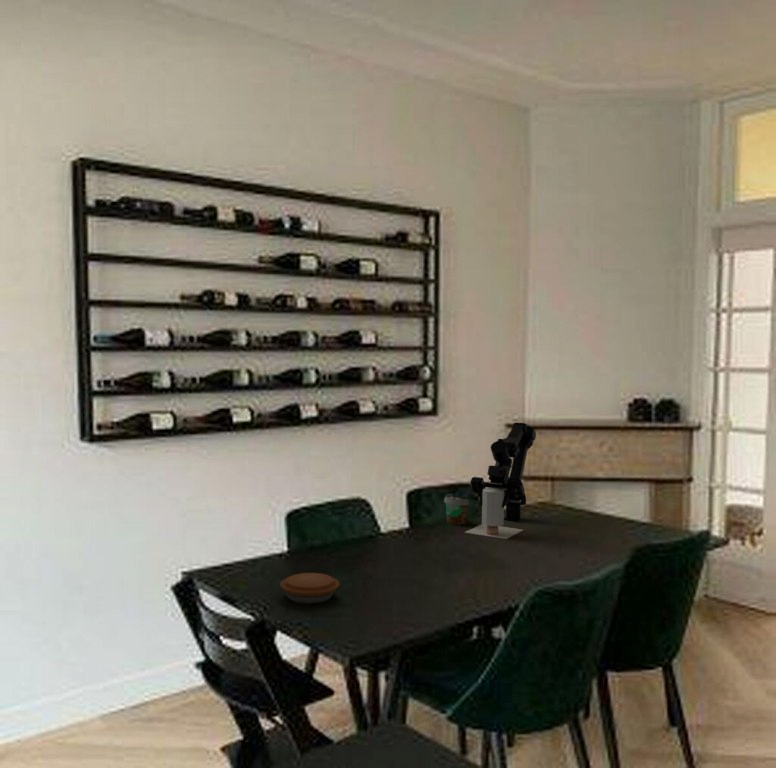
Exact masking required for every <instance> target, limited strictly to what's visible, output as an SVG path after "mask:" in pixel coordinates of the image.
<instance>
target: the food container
mask: <svg viewBox="0 0 776 768" xmlns="http://www.w3.org/2000/svg"><path fill="white" fill-rule="evenodd" d="M443 503H445V515H446V524H447V523H448V524H449V525H454V526H467V520H468V508H469V505H470V503H469V499H466V498H465V499H464V498H461V497H456V496H454V493H450V494H449V493H448V494H446V495H445V497H444V500H443Z"/></svg>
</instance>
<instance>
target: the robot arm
mask: <svg viewBox="0 0 776 768" xmlns="http://www.w3.org/2000/svg"><path fill="white" fill-rule="evenodd" d="M536 432H537V431H536V430H535V429H534V427H531V426H529V425H528V423H525V422H514V423H513V424H512V428H511V430H510V431H509V433H508V434H507V436H506V437H505V438H498V439H497V441H494V442H493V443H492V444H490V451H491V454H492V457H493V460H494V461H495V463H494V465H488V469H487V475H488V480H489V481H484V480H485V479H484V477H479V476H472V477H471V479H470V485H471V488H472V491H474V492H477V493H478V494H479V500H480V506H482V498H483V489H485V488H498V489H503V490H504V500H503V504H502V508H504V509H505V516H504V519H505V520H504V521H511V522H520V521H522V520H523V519H525V517H524V516H522V506H525V505H527V496H526V491H525V486H524V483H523V482H522V479H523V474H524V469H525V464H526V459H527V454H528V450H529V449H530V448H531V447H532V446H534V445H533V444H534V442H535V441H536V439H537V437H536V436H537V433H536ZM512 458H513V459H512Z"/></svg>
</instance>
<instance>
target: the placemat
mask: <svg viewBox="0 0 776 768" xmlns="http://www.w3.org/2000/svg"><path fill="white" fill-rule="evenodd" d="M522 531H523V529H520V528H514V527H509V526H507V527H506V526H503V525H502V526H498V534H497V535H489V534H487V525H483V524H482V523H481V524H479V525H477V526H475V527H473V528H470V529H468V530H466V531H464V533H465V534H472V535H479V536H486V537H493V538H498V539H499V538H500V539H503V540H508V539H510V538H511V537H513V536H515V535H517V534H519V533H521V532H522Z"/></svg>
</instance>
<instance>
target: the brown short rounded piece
mask: <svg viewBox="0 0 776 768" xmlns="http://www.w3.org/2000/svg"><path fill="white" fill-rule="evenodd" d="M487 534H489V535H497V534H498V526H487Z"/></svg>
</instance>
